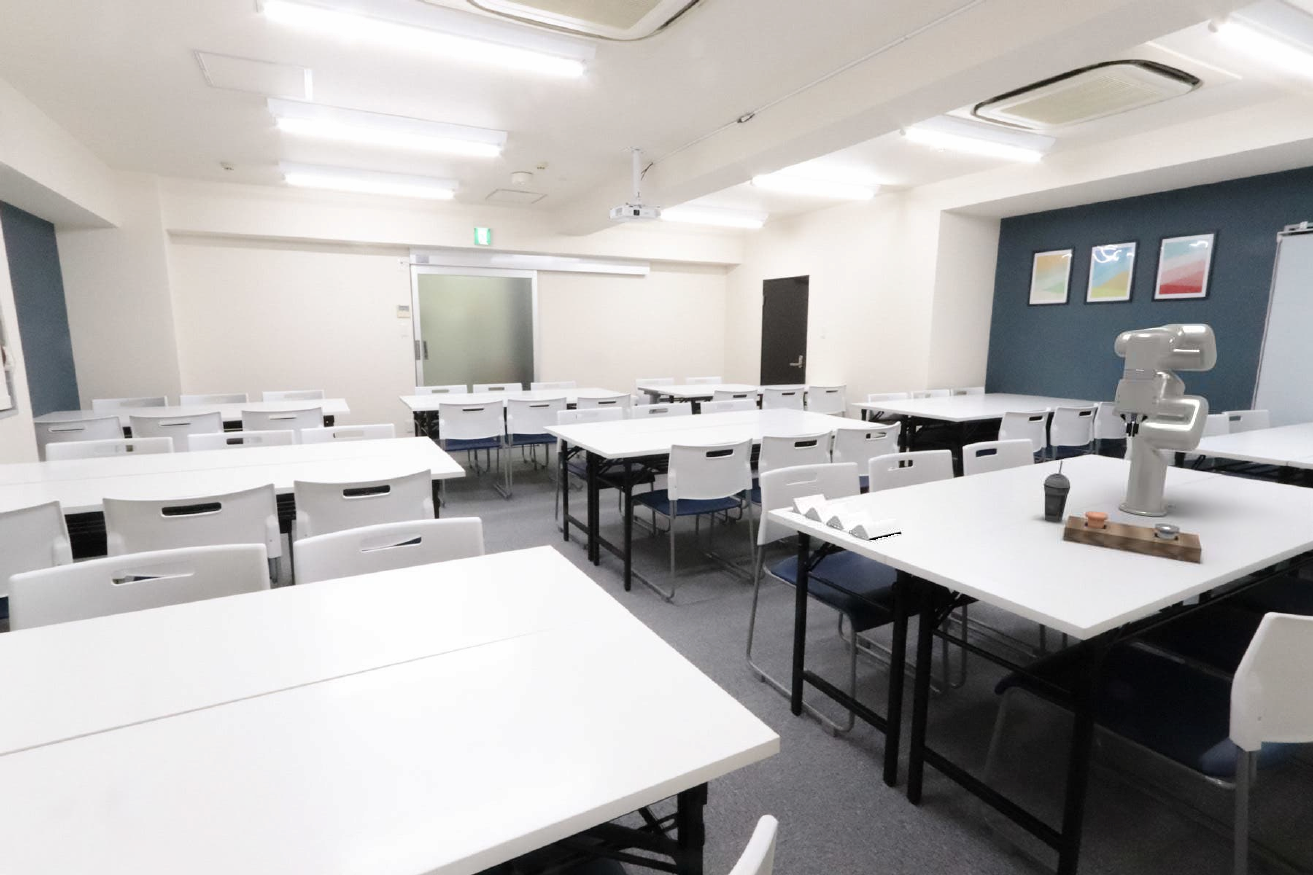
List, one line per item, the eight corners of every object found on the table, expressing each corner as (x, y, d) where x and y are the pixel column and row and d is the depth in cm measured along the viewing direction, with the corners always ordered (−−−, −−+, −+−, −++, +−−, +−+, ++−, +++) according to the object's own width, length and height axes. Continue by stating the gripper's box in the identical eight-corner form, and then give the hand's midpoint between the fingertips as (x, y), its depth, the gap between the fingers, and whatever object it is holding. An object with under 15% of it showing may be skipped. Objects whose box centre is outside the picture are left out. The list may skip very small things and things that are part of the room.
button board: (1195, 548, 169) (1197, 535, 169) (1199, 563, 158) (1201, 549, 158) (1067, 527, 188) (1069, 515, 187) (1063, 539, 177) (1064, 526, 176)
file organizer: (871, 543, 176) (872, 527, 176) (793, 513, 207) (793, 498, 206) (903, 536, 182) (904, 520, 182) (821, 507, 213) (822, 493, 212)
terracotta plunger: (1105, 534, 178) (1108, 513, 177) (1104, 539, 174) (1107, 517, 173) (1084, 531, 181) (1086, 510, 180) (1082, 535, 177) (1085, 514, 176)
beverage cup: (1058, 517, 198) (1065, 458, 195) (1071, 524, 191) (1078, 462, 188) (1035, 516, 199) (1041, 457, 196) (1047, 523, 192) (1053, 462, 188)
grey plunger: (1176, 548, 168) (1179, 525, 167) (1176, 553, 164) (1180, 530, 163) (1152, 544, 172) (1155, 522, 170) (1152, 549, 168) (1155, 527, 166)
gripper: (1171, 375, 178) (1163, 436, 181) (1108, 374, 187) (1101, 432, 190) (1172, 377, 172) (1163, 440, 175) (1107, 375, 181) (1100, 435, 184)
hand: (1131, 436), depth 182 cm, fingers closed
